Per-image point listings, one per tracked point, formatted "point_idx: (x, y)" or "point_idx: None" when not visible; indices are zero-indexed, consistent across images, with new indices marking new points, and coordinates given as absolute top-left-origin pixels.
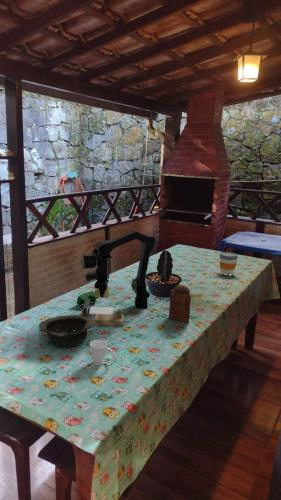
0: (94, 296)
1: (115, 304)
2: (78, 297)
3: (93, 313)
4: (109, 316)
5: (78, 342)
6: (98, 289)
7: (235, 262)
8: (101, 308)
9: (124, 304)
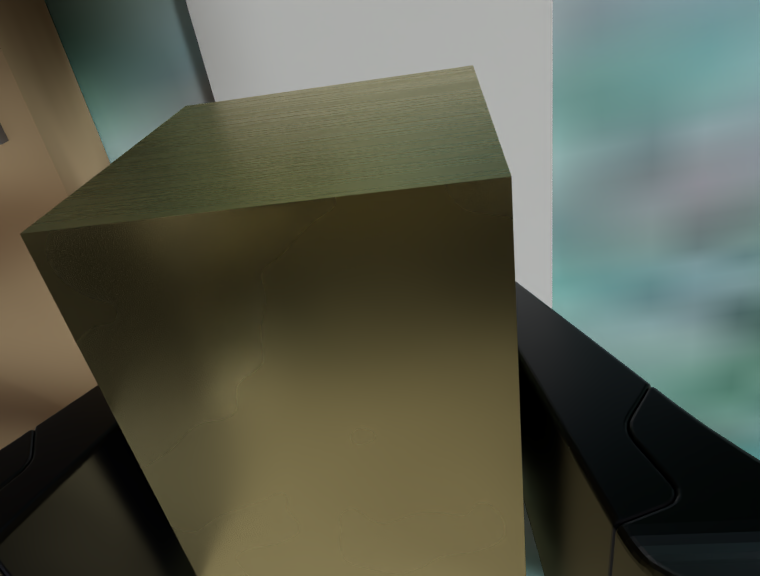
0: None
1: (735, 299)
2: None
3: (218, 16)
4: (63, 351)
5: None
6: (239, 381)
7: None
8: (492, 119)
9: (723, 410)
